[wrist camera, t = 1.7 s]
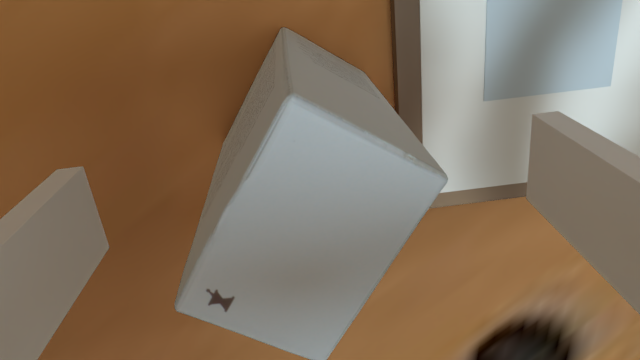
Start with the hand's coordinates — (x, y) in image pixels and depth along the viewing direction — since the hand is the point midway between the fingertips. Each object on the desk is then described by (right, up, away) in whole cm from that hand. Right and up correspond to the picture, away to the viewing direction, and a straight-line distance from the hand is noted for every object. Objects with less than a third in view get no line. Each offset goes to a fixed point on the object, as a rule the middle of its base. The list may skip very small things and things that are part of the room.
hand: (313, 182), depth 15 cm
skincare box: (-1, +3, +8) cm, 8 cm away
